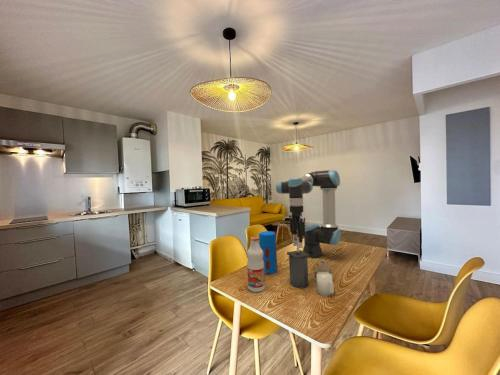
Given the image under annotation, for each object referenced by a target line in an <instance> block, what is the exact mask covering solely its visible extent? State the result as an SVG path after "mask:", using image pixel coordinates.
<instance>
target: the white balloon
mask: <svg viewBox="0 0 500 375" xmlns="http://www.w3.org/2000/svg"><path fill="white" fill-rule="evenodd" d="M332 274H333V273H332ZM332 274H330V273H328V272H318V273H317V281H316V292H317V294H319V295H321V296H324V297H329V296H332V295H333V294H334V293H335V292H334V290H335V289H334V286H335V285H334V282H333V281H332Z"/></svg>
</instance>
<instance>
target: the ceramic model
mask: <svg viewBox="0 0 500 375" xmlns="http://www.w3.org/2000/svg"><path fill="white" fill-rule="evenodd" d="M318 272H328V273H330V274H332V282H333V281H334V274H333V271H332V269H331V266H330V265H329V264H328V263H327V261H325V260H322V261H321V263H320V264H319V265H318V267H317V268H316V269H315V270H314V272H313V273H314V275H313V277H312V279H313V280H314V281H315V282H317V273H318Z"/></svg>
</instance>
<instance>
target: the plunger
mask: <svg viewBox="0 0 500 375" xmlns="http://www.w3.org/2000/svg"><path fill="white" fill-rule="evenodd" d="M297 236H298V233H297V234H294V240H297ZM299 250H300V248H298V243H297V246H296V251H297V255H298V254H299Z"/></svg>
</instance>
